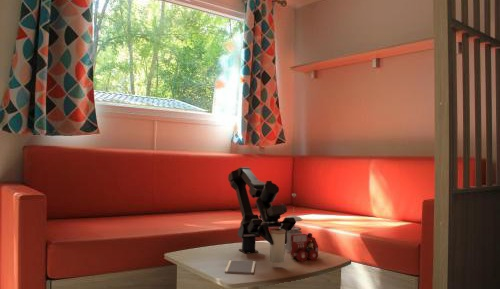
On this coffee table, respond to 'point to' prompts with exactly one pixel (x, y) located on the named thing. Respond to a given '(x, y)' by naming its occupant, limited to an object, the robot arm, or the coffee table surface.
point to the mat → (240, 267)
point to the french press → (292, 232)
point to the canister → (277, 245)
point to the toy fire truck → (304, 247)
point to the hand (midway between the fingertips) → (279, 243)
